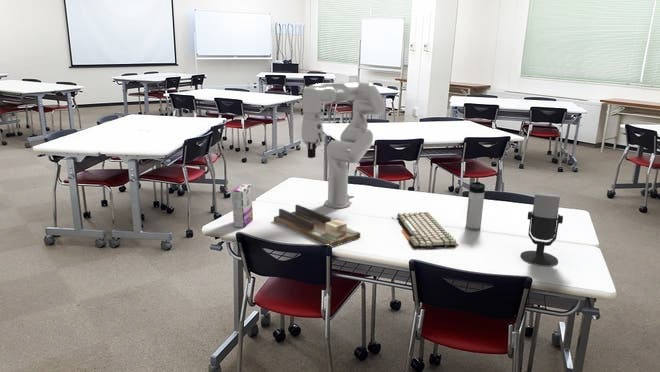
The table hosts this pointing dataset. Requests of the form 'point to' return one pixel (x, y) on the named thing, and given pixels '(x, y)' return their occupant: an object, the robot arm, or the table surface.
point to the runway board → (312, 225)
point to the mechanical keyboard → (424, 231)
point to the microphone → (543, 229)
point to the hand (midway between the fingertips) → (311, 157)
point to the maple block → (336, 228)
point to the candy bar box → (242, 205)
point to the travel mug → (475, 206)
